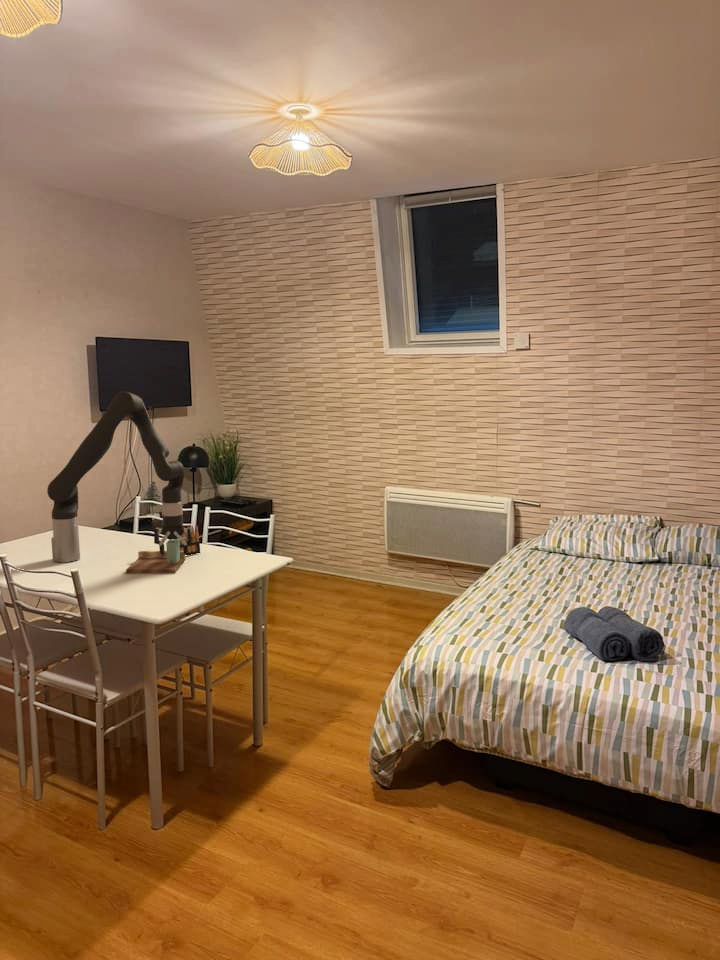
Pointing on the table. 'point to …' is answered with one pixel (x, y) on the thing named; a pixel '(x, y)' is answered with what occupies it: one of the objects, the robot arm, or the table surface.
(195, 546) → the ammunition clip
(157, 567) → the walnut board
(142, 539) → the table surface
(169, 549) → the green rectangular block
